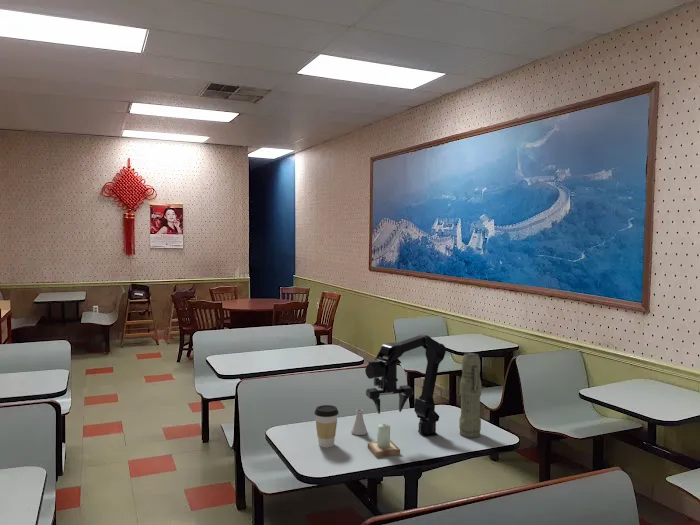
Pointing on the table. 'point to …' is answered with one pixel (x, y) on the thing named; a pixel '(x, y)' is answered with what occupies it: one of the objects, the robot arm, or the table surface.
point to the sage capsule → (383, 436)
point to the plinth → (383, 450)
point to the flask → (359, 424)
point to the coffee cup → (326, 424)
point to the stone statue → (470, 396)
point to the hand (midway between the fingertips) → (389, 412)
